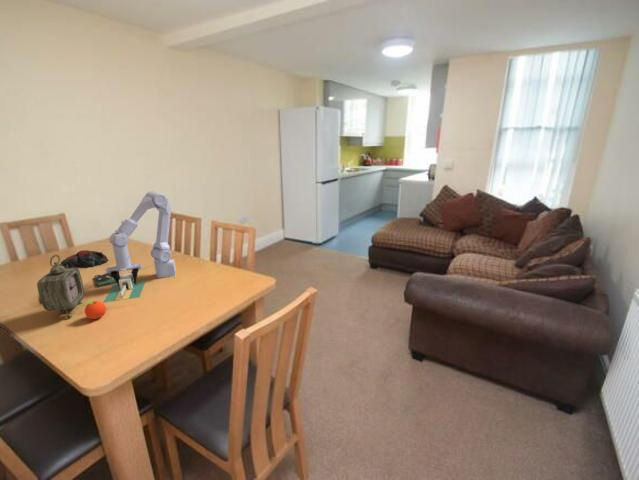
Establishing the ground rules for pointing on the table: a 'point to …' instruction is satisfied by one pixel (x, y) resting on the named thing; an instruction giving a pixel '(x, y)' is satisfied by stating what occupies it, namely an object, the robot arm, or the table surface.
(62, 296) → the tabletop clock
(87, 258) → the drone shell
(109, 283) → the disk drive
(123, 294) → the pin board
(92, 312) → the clementine
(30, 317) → the table surface
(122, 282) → the block
